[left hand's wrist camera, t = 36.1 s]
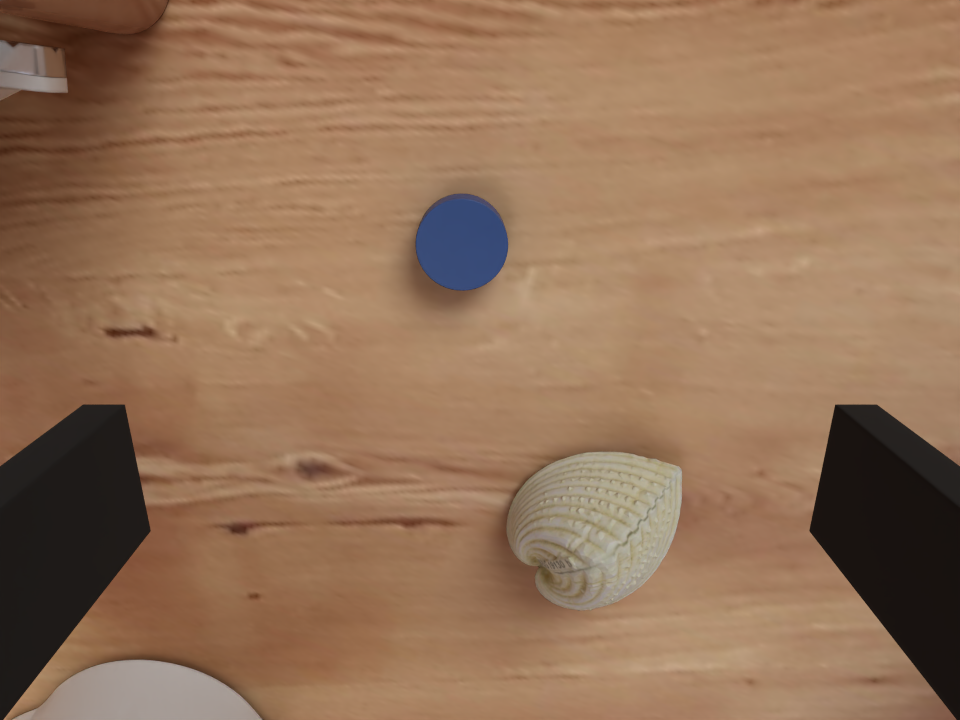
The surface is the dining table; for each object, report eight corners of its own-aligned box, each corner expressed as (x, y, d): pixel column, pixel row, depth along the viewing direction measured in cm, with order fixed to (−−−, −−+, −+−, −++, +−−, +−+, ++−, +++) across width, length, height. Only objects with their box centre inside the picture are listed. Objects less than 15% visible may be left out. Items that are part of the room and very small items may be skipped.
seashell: (458, 525, 35) (561, 479, 29) (544, 455, 41) (643, 406, 35) (542, 661, 34) (663, 639, 29) (617, 569, 40) (728, 537, 35)
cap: (433, 291, 33) (432, 301, 31) (406, 208, 31) (403, 214, 30) (515, 267, 32) (518, 276, 31) (492, 182, 31) (493, 186, 29)
